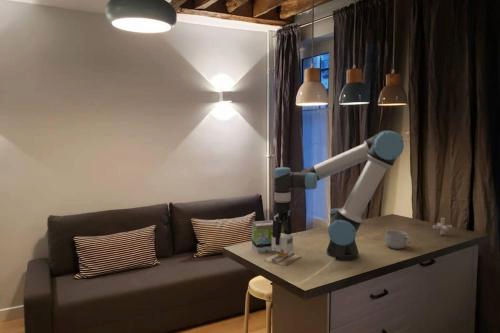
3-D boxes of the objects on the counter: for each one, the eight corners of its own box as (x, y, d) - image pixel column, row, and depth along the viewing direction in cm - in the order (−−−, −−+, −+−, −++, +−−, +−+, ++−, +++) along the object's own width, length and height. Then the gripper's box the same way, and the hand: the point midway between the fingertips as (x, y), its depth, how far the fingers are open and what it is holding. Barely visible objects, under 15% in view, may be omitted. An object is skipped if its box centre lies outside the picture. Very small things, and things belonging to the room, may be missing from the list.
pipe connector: (446, 232, 223) (447, 215, 222) (455, 237, 214) (456, 220, 212) (429, 233, 224) (429, 216, 223) (437, 238, 214) (437, 220, 213)
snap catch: (288, 255, 182) (288, 253, 182) (284, 257, 180) (284, 255, 180) (281, 254, 185) (281, 251, 184) (277, 255, 182) (277, 253, 182)
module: (293, 249, 182) (293, 235, 181) (286, 253, 177) (286, 238, 176) (278, 246, 187) (278, 232, 186) (271, 250, 182) (271, 235, 181)
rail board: (301, 259, 185) (301, 253, 184) (286, 268, 173) (286, 262, 173) (280, 254, 192) (280, 249, 191) (264, 262, 180) (264, 257, 180)
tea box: (257, 255, 191) (256, 225, 190) (251, 249, 201) (251, 221, 200) (285, 252, 195) (285, 223, 194) (279, 246, 205) (278, 218, 204)
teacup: (380, 245, 203) (380, 230, 202) (397, 243, 206) (397, 228, 206) (398, 253, 190) (399, 237, 189) (416, 250, 193) (417, 235, 193)
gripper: (286, 196, 189) (286, 242, 192) (264, 203, 174) (264, 253, 177) (299, 198, 185) (299, 245, 187) (278, 205, 170) (278, 256, 172)
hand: (282, 249), depth 182 cm, fingers closed on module, 6 cm apart
